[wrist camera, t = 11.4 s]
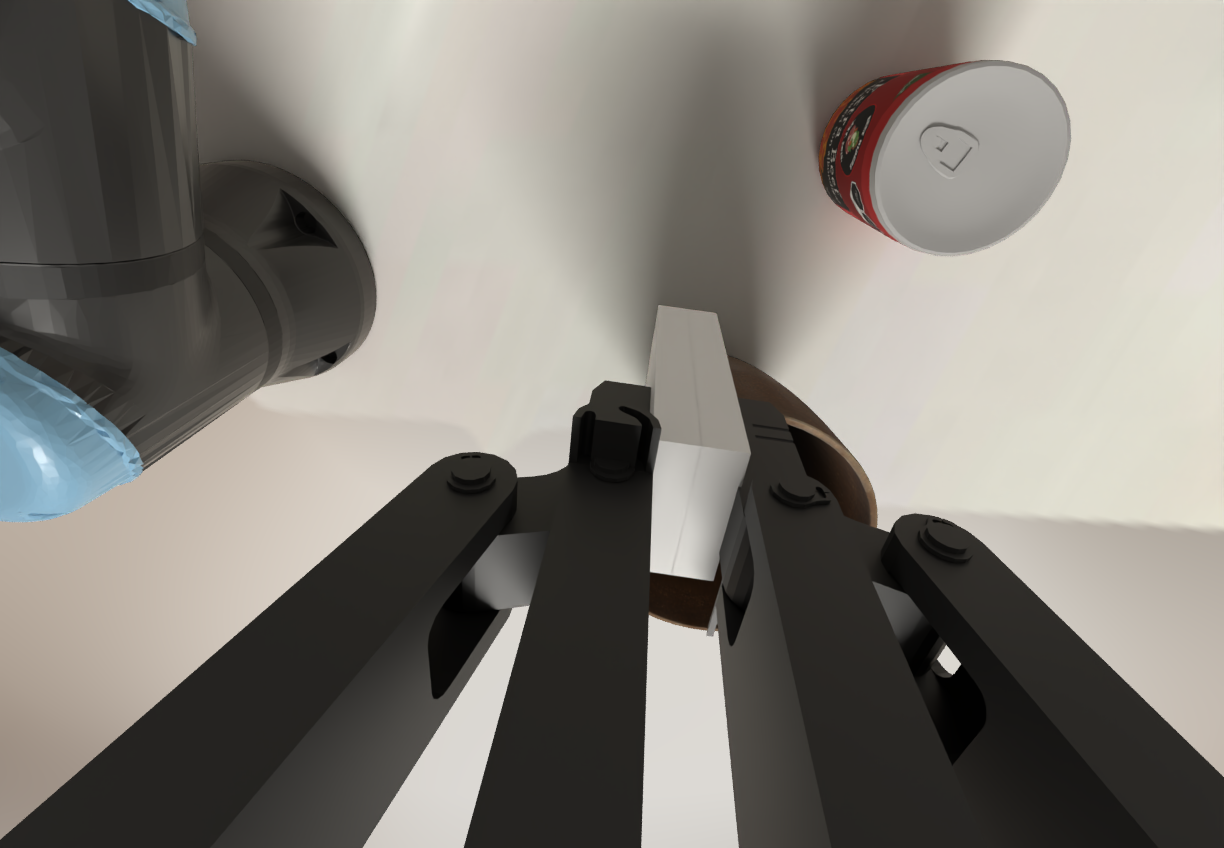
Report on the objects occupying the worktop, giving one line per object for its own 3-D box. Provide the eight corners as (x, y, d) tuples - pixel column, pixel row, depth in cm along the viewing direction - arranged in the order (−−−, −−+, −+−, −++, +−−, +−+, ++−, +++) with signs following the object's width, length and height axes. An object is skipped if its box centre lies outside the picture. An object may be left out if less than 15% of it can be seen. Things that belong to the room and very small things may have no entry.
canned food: (846, 58, 31) (927, 35, 21) (980, 94, 31) (1119, 87, 21) (794, 200, 35) (842, 234, 25) (914, 230, 35) (1006, 275, 25)
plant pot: (841, 332, 38) (938, 456, 25) (762, 493, 46) (803, 657, 32) (638, 278, 38) (622, 374, 24) (592, 450, 45) (559, 598, 32)
